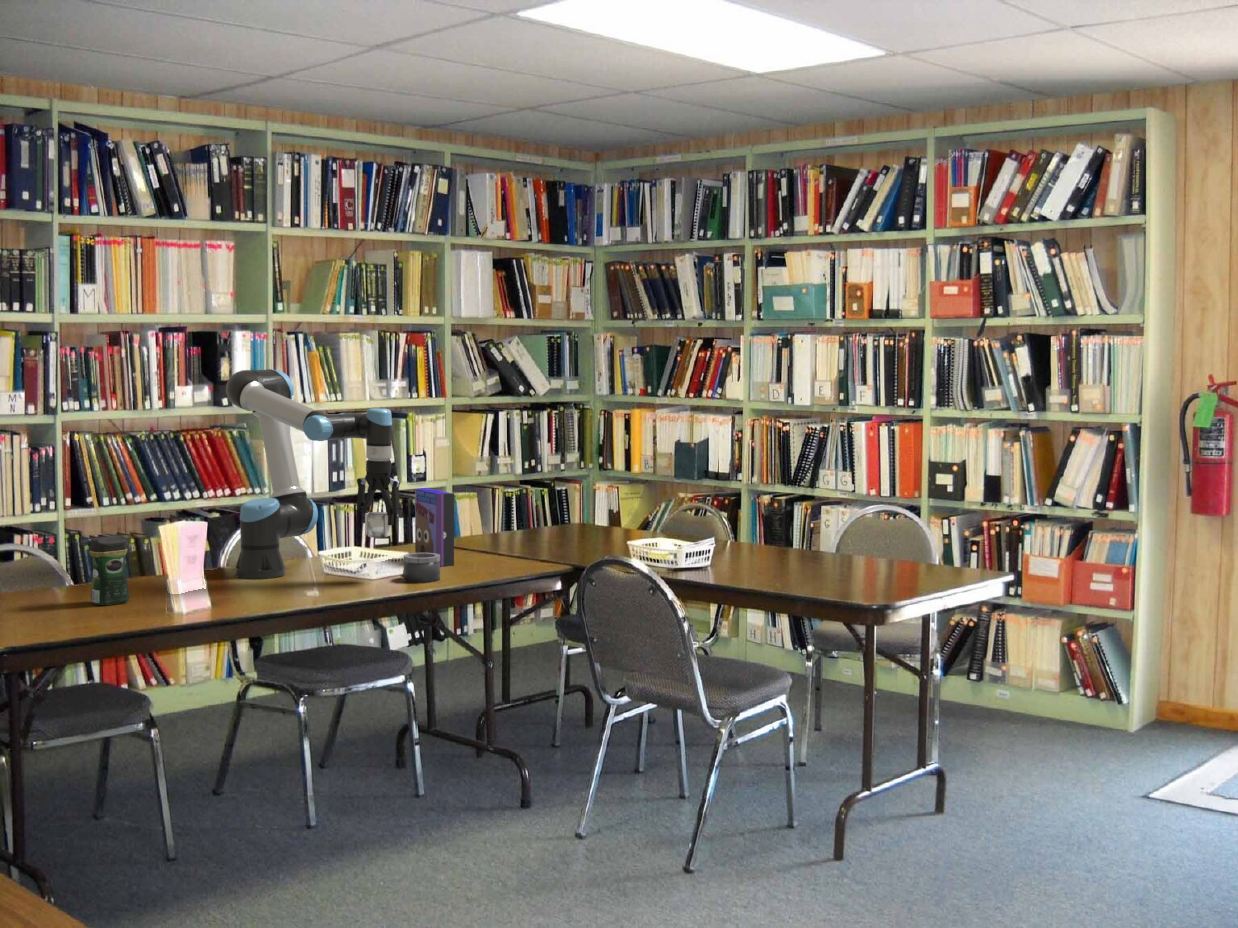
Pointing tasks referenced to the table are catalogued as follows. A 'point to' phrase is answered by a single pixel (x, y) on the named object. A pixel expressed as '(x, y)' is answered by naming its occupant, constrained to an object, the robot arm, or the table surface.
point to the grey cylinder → (376, 524)
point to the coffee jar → (109, 570)
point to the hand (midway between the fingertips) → (378, 534)
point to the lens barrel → (422, 567)
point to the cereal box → (435, 524)
